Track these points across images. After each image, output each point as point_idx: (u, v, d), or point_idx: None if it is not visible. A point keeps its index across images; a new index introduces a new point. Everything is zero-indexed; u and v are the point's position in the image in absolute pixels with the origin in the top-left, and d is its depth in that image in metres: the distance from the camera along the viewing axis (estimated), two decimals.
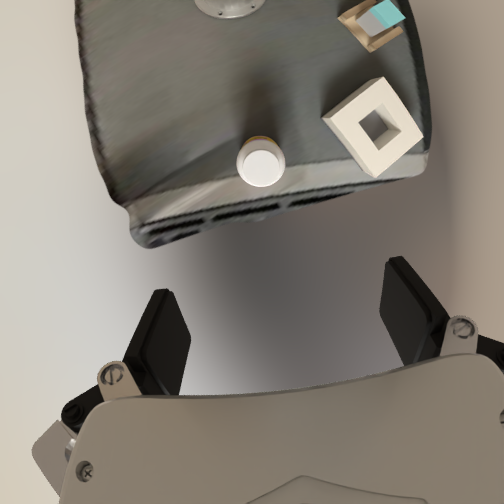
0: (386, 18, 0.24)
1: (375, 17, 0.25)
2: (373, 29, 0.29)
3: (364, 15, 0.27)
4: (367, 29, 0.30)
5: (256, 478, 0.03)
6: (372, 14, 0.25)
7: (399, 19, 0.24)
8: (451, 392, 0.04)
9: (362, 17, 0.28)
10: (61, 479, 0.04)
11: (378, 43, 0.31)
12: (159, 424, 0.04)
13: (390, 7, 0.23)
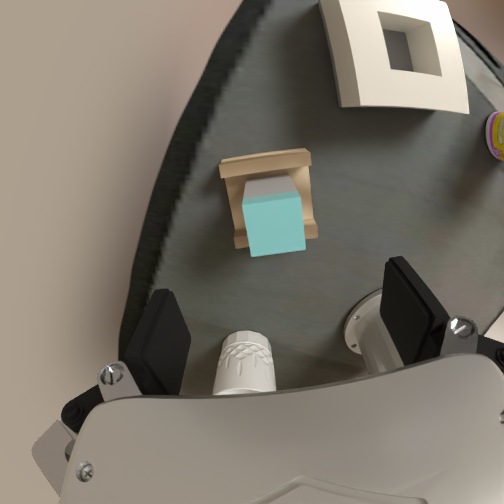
0: (295, 217, 0.19)
1: None
2: None
3: None
4: None
5: (256, 478, 0.03)
6: None
7: (262, 205, 0.18)
8: (451, 392, 0.04)
9: None
10: (61, 479, 0.04)
11: (296, 160, 0.22)
12: (159, 424, 0.04)
13: (261, 238, 0.19)
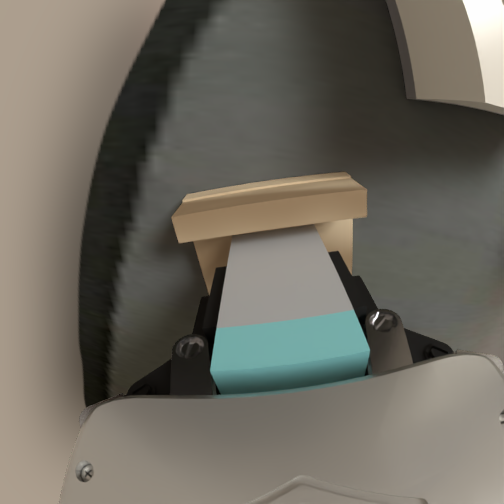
0: None
1: None
2: None
3: None
4: None
5: (256, 478, 0.03)
6: None
7: (265, 373, 0.06)
8: (451, 392, 0.04)
9: None
10: None
11: (338, 206, 0.10)
12: (159, 424, 0.04)
13: None
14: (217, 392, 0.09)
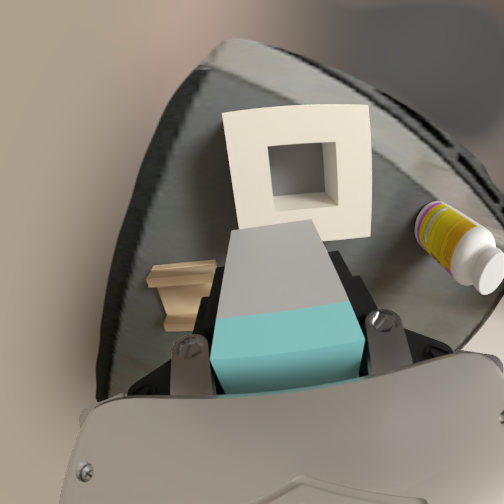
0: (341, 373, 0.07)
1: None
2: None
3: None
4: None
5: (256, 478, 0.03)
6: None
7: (263, 361, 0.07)
8: (451, 392, 0.04)
9: None
10: None
11: (201, 279, 0.30)
12: (159, 424, 0.04)
13: None
14: (217, 392, 0.09)
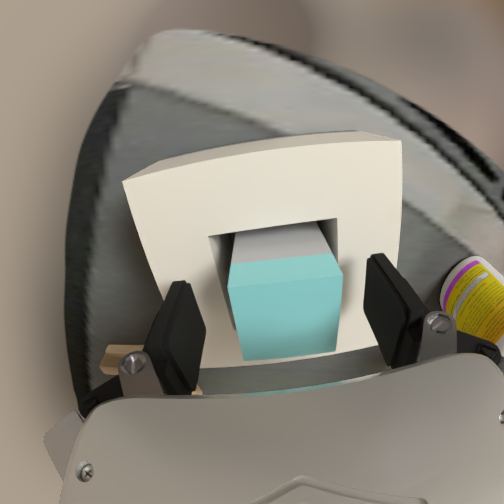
0: (327, 307, 0.10)
1: None
2: None
3: None
4: None
5: (256, 478, 0.03)
6: None
7: (267, 290, 0.09)
8: (451, 392, 0.04)
9: None
10: None
11: None
12: (159, 424, 0.04)
13: (262, 338, 0.10)
14: None
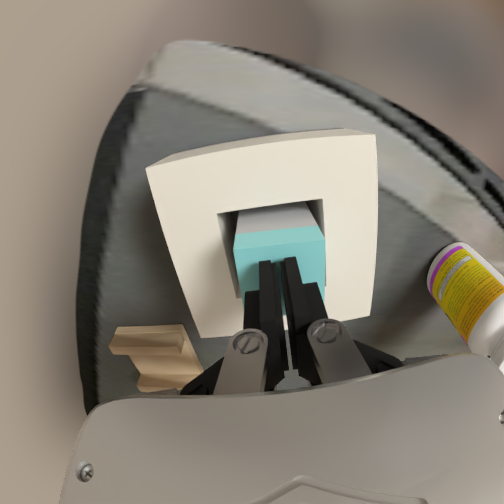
0: (313, 268, 0.12)
1: None
2: None
3: None
4: None
5: (256, 478, 0.03)
6: None
7: (265, 251, 0.12)
8: (451, 392, 0.04)
9: None
10: None
11: (166, 351, 0.24)
12: (159, 424, 0.04)
13: None
14: (265, 391, 0.08)
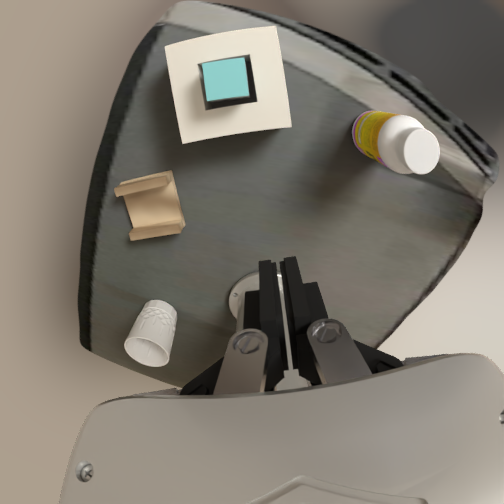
0: (240, 71, 0.21)
1: (247, 81, 0.23)
2: None
3: None
4: (247, 78, 0.27)
5: (256, 478, 0.03)
6: None
7: (216, 63, 0.21)
8: (451, 392, 0.04)
9: (249, 94, 0.27)
10: None
11: (157, 182, 0.33)
12: (159, 424, 0.04)
13: (214, 86, 0.22)
14: (265, 391, 0.08)
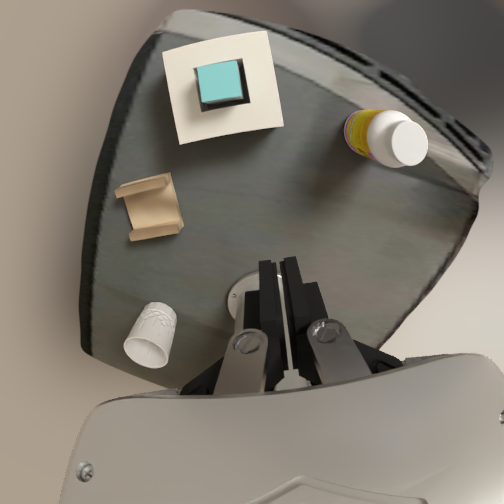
0: (232, 73, 0.23)
1: (240, 83, 0.25)
2: (240, 76, 0.27)
3: (242, 96, 0.27)
4: (241, 81, 0.29)
5: (256, 478, 0.03)
6: None
7: (210, 66, 0.22)
8: (451, 392, 0.04)
9: None
10: None
11: (156, 183, 0.34)
12: (159, 424, 0.04)
13: (209, 88, 0.23)
14: (265, 391, 0.08)
